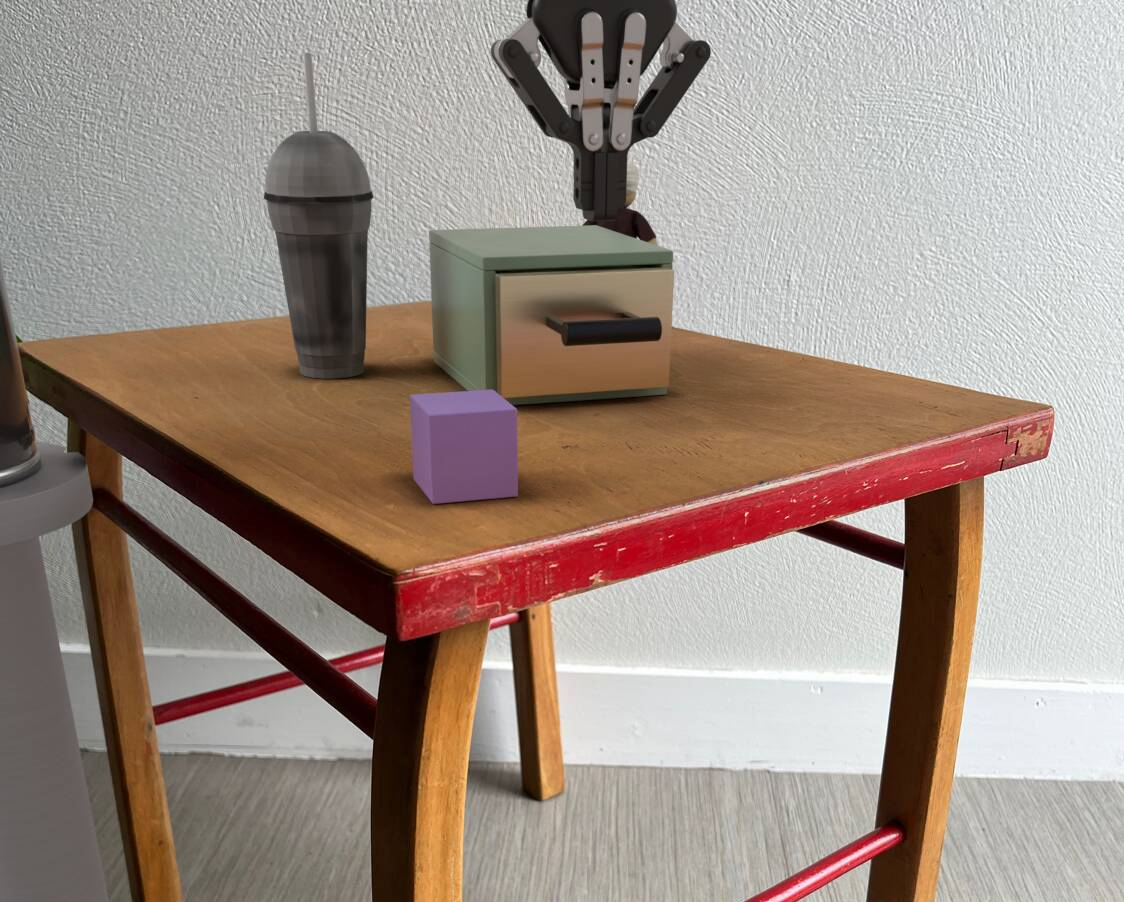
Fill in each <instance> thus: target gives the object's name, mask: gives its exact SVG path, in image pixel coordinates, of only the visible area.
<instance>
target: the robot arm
mask: <svg viewBox="0 0 1124 902" xmlns="http://www.w3.org/2000/svg"><path fill="white" fill-rule="evenodd" d="M525 11H526V18H525V20H523V21H522V22H521V23H520V24H519V25H518V26H517V27H516V28H515V29H514V30H513V31H512V32H511V33H510V34H509V35H508V36H506V37H505V38H502V39H497V40H496V41H494V42H493V43H492V45H491V46H490V47H491V48H490V55H491V58H492V60H493V61H494V64H495V65H496V66H497V67H498V69H499V70H500V72H501V74H502V75H503V76H504V77H505V79H506V81H507V82H508V83H509V86H510V87H511V88H512V89H513V91H514V92H515V94H516V95H517V97H518V98H519V100H520V101H521V103H522V104H523V106H524V107H525V109H526V110H527V111H528V113H529V114H530V116H531V118H532V119H533V120H534V122H535V123H536V124H537V126H538V127H539V129H540V130H541V132H542V133H543V134H544V136H546V137H548V138H553V139H556V140H559V141H562V142H564V143H566V144H567V145H569V146H570V148H571V149H572V150H571V151H572V154H573V184H572V185H573V187H572V188H573V192H572V194H573V195H572V196H573V197H572V200H573V202H574V205H575V208H576V209H578V210H579V211H580V210H581V212H582V218H583V219H584V220H585V221H587V220H589V221H615V220H616V218H617V210H623V208H624V205H625V202H626V191H627V190H626V189H627V183H626V181H627V161H628V155H629V152H630V149H631V148H632V147H633V145H635V144H636V143H639V142H642V141H644V140H646V139H648V138H650V139H652V138H654V137H656V136H657V135H658V134H659V132H660V131H661V130H662V128H663V127H664V125H665V124H666V122H667V121H668V119H669V118H670V117H671V115H672V114H673V112H674V111H675V110H676V108H677V106H678V105H679V103H680V102H681V101H682V99H683V98H684V97H685V95H686V93H687V92H688V91H689V89H690V88H691V86H692V85H693V83H694V81H695V80H696V78H697V77H698V76H699V74H700V72H701V71H702V70H703V69H704V67H705V65H706V64H707V63H708V61H709V60H710V58H711V55H712V50H711V46H710V44H709V43H708V41H706V40H704V39H696V38H694V37H693V35H691V34H690V33H689V31H687V30H686V29H685V27H683V25H681V24H680V22H678V21H677V17H678V7H677V2H676V0H528V1H527V3H526V9H525ZM538 41H539V43H540V44H541V46H542V48H543V49H544V51H545V53H546V55H547V56H548V57H549V59H550V61H551V62H552V64H553V66H554V68H555V69H556V70H557V73H558V74H559V75H560V76H561V77H562V78H563V84H564V101H565V103H566V105H567V109H568V112H567V110H566V109H565V106H563V104H562V103H561V101H560V99H558V97H557V95H556V94H555V93H554V91H553V90H552V88H551V86H550V85H549V83H548V82H547V80H546V79H545V77H544V76H543V74H542V73H541V71H540V69H539V68H538V67H539V66H540V64H541V61H542V54H541V51H540V49H539V46H538ZM662 45H663V47H662V49H661V51H660V54H659V63H660V65H661V68H660V69H659V71H658V72H657V74H656V76H655V77H654V78H653V80H652V81H651V83H650V84H649V86H648V87H647V89H646V90H645V92H644V93H643V95H642V96H641V98H640V99H639V92H640V91H639V90H640V80H641V77H642V76H643V74H644V73H645V72H646V70H647V69H648V67H649V66H650V64H651V62H652V61H653V59H654V58H655V56H656V54H657V53H658V51H659V50H660V48H661V46H662ZM638 99H639V101H638ZM1 254H2V253H0V487H4V486H8V485H11V484H13V483H16V482H19V481H22V480H24V479H26V478H28V477H30V476H32V475H34V474H35V473H36V472H38V471H39V470H40V468H41V459H40V453H39V449H38V447H37V446H36V442H37V441H36V433H35V427H34V425H33V421H32V415H31V411H30V405H29V399H28V395H27V394H28V393H27V389H26V388H27V387H26V384H25V378H24V377H25V376H24V372H23V368H22V362H21V356H20V351H19V346H18V340H17V333H16V329H15V324H14V319H13V313H12V309H11V303H10V298H9V292H8V287H7V286H8V285H7V282H6V276H5V271H4V265H3V260H2V256H1Z"/></svg>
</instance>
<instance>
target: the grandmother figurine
mask: <svg viewBox="0 0 1124 902" xmlns="http://www.w3.org/2000/svg"><path fill="white" fill-rule="evenodd" d="M639 180H640V176H639V169H638V166H637V165H635V163H634V162H631V161H628V160H627V181H626V183H627V189H626V190H627V191H626V202H625V205H624V208H623V210H617V218H616V220H615V221H589V220H585V221H584V222H583V223H582V225H581V226H590V225H597V226H600V227H603V228H606V229H609V230H612V231H615V232H618V233H621V234H624V235H627V236H630V237H633V238H636V239H639V240H642V241H645V242H648V243H651V244H654V245H657V246H659V244H658V241H657V235H656V233H655V232H654V230H653V228H652V226H651V225H650V223H649V221H648V219H647V218H646V217H645V216H644V215H643V214H641V212H639V211H637V210H636V209H632V208H628V207H630V206H631V205H632V204H633V203H634V202H635V200H636V198H637V197H636V196H637V190H638V186H639Z"/></svg>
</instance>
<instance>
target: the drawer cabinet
mask: <svg viewBox="0 0 1124 902" xmlns="http://www.w3.org/2000/svg"><path fill="white" fill-rule="evenodd" d="M428 241H429V267H430V268H429V270H430V296H431V321H432V326H431V327H432V347H433V349H432V351H433V362H434V363H435V364H436V365H437V366H438V367H439V368H441V369H442V370H443V371H444V372H445V373H446V374H447V375H448V376H450V377H451V378H452V379H453V380H455V382H457V384H459V385H460V386H461V387H463V389H464V390H465V391H476V390H491V389H492V390H494V391H495V392H497V362H496V297H495V271H497V270H523V269H550V268H576V267H602V266H628V265H642V266H645V267H647V268H660V267H668V268H670V269H673V268H674V267H673V264H674V250H672V249H668V248H665V247H663V246H659V245H658V246H657V245H654V244H651V243H648V242H645V241H642V240H640V239H639V238H637V239H636V238H633V237H630V236H627V235H624V234H621V233H618V232H615V231H612V230H609V229H606V228H603V227H600V226H597V225H590V226H582V225H562V226H561V225H560V226H527V227H492V228H487V227H486V228H457V229H454V228H453V229H429V230H428ZM673 270H674V269H673ZM667 394H668V387H664V388H650V389H635V390H620V391H605V392H590V393H575V394H561V395H546V396H531V397H516V398H504V399H505V400H506V401H508V402H509V403H510V404H511V405H513V406H522V405H538V404H551V403H552V404H553V403H565V402H567V403H568V402H580V401H595V400H611V399H622V398H623V399H624V398H636V397H637V398H639V397H640V398H641V397H652V396H653V397H655V396H666V395H667Z"/></svg>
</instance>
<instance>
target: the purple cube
mask: <svg viewBox="0 0 1124 902" xmlns="http://www.w3.org/2000/svg"><path fill="white" fill-rule="evenodd" d="M409 411H410V413H409V414H410V433H411V435H410V436H411V455H412V476H413V481H414V482H415V483H416V484H417V486H418V487H419V488H420V489H421V491H422V492H423V494H424V495H425V496H426V497H427V498H428V500H429V501H430V502H431V503H432V504H433V505H439V504H452V503H461V502H462V503H463V502H472V501H483V500H484V501H485V500H494V499H505V498H516V497H518V496H519V463H518V462H519V460H518V459H519V457H518V456H519V454H518V453H519V452H518V450H519V449H518V446H519V445H518V409H517V407H515V405H511V404H510V403H509V402H508V401H506V400H505V399H504V398H503V397H502V396H500V395H499V394H498V393H497V392H495V391H494V390H492V389H491V390H476V391H467V390H463V391H449V392H447V391H446V392H432V393H431V392H430V393H416V394H410V395H409Z"/></svg>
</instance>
